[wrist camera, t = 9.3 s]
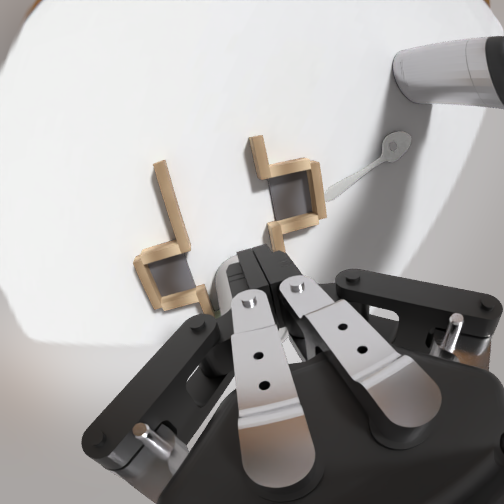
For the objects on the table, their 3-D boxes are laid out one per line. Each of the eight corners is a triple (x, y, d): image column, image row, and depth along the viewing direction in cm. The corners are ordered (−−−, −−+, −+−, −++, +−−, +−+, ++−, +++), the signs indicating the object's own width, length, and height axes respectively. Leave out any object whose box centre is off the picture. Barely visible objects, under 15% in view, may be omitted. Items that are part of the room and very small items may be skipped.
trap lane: (306, 127, 31) (316, 126, 28) (327, 283, 41) (336, 293, 38) (108, 179, 28) (100, 184, 26) (169, 330, 38) (168, 343, 36)
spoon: (409, 147, 35) (416, 148, 33) (311, 224, 37) (316, 227, 35) (399, 124, 33) (406, 124, 32) (296, 200, 35) (300, 203, 33)
